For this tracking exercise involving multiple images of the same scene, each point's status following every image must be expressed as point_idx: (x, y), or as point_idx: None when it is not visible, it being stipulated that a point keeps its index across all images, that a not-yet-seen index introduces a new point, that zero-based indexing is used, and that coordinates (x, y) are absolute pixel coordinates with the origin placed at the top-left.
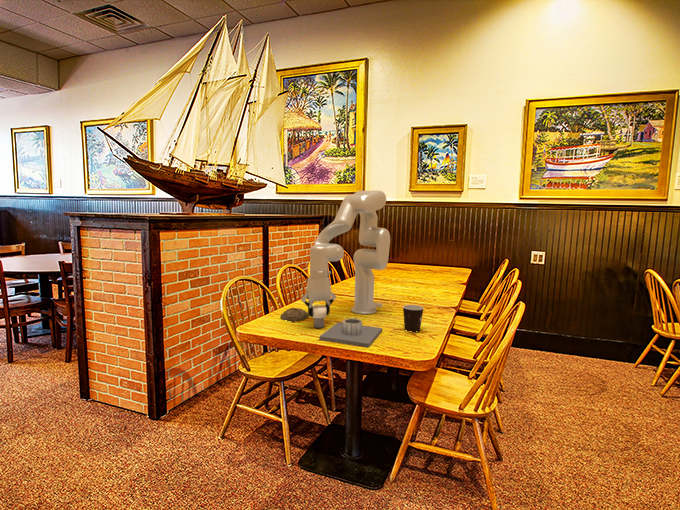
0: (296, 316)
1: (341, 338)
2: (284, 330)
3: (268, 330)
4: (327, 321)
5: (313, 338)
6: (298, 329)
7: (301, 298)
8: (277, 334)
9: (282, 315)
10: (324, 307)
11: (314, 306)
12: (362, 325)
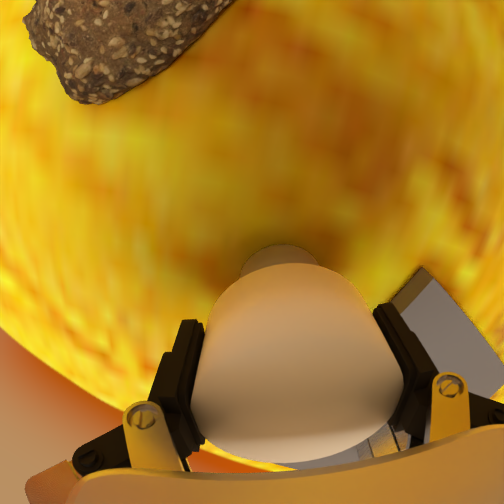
0: (102, 72)
1: (314, 467)
2: (48, 283)
3: None
4: (393, 144)
5: None
6: (123, 288)
7: (34, 501)
8: (33, 330)
9: (27, 21)
10: (355, 433)
11: (243, 394)
12: (491, 348)
